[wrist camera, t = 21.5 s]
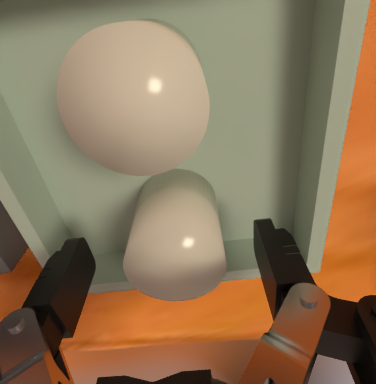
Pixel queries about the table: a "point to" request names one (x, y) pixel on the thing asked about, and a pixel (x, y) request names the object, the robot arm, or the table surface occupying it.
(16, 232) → the parts tray
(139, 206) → the pebble
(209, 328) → the table surface
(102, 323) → the table surface
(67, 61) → the pebble
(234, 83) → the shallow green tray
